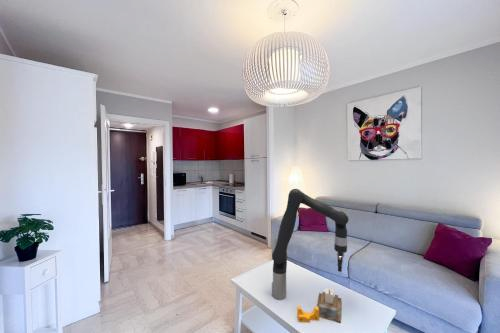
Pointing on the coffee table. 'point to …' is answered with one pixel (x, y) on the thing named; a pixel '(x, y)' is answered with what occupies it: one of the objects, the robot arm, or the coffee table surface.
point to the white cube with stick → (329, 296)
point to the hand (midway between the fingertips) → (340, 268)
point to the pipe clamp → (307, 315)
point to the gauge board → (329, 308)
